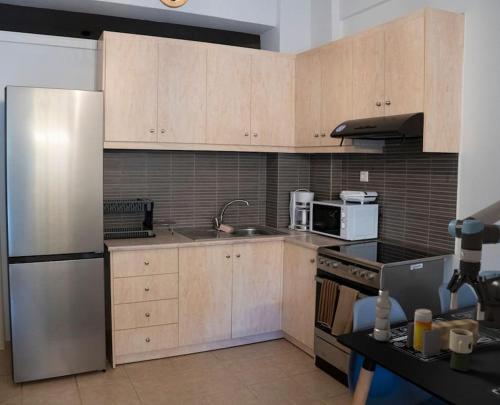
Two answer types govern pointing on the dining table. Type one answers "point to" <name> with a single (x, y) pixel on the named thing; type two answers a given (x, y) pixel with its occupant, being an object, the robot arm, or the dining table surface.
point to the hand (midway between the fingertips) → (466, 314)
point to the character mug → (460, 348)
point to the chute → (425, 340)
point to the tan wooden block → (458, 324)
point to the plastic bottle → (382, 316)
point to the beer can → (421, 326)
